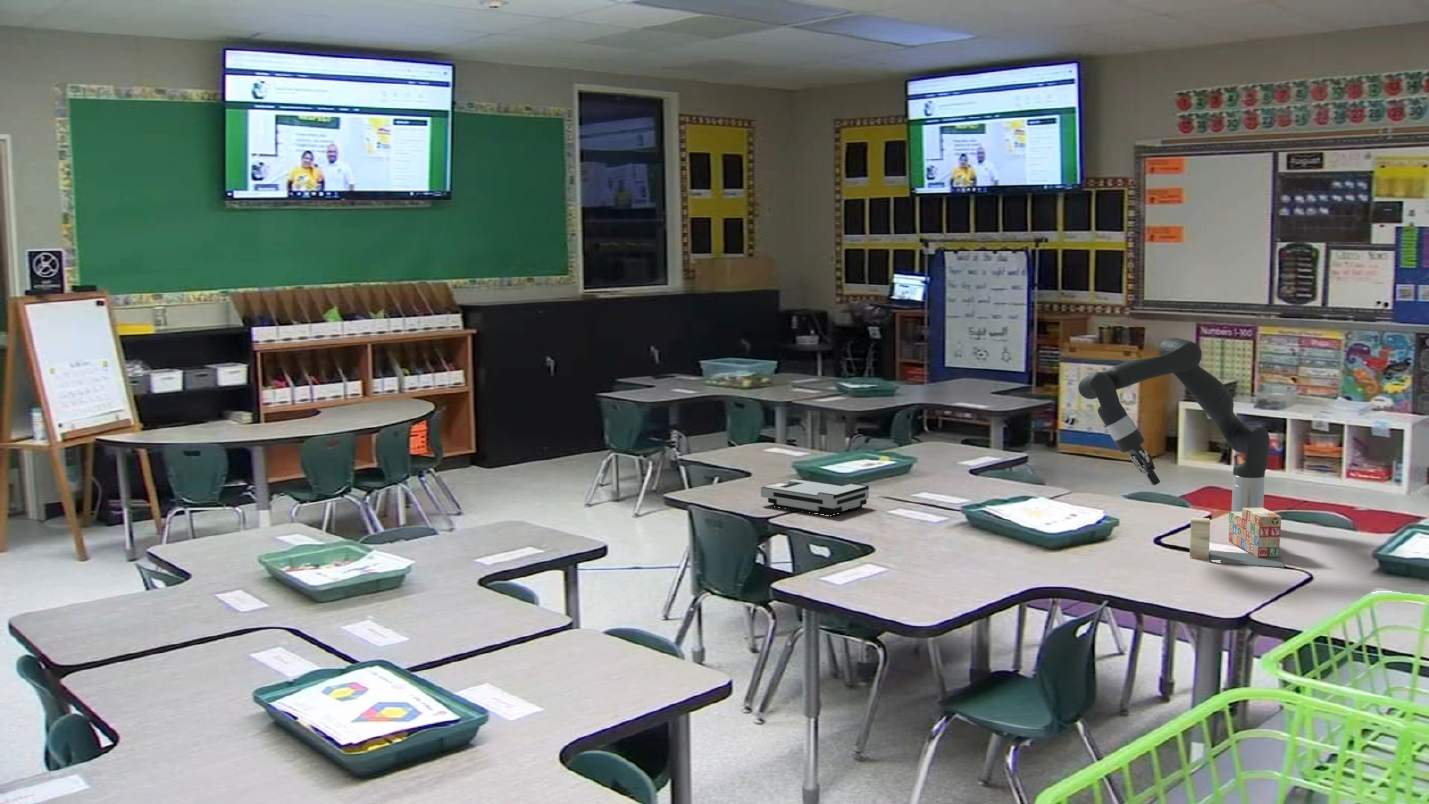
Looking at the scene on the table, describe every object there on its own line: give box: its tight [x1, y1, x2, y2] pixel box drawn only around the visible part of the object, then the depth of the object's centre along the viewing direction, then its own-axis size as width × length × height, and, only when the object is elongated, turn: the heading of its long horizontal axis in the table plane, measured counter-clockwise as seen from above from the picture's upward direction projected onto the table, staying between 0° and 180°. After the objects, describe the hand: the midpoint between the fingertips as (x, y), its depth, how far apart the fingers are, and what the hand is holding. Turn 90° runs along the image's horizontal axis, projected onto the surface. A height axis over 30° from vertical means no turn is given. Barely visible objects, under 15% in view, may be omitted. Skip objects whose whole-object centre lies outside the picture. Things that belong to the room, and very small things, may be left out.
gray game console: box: [760, 478, 870, 516], centre depth 427 cm, size 21×32×8 cm, turn 48°
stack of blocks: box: [1228, 507, 1282, 557], centre depth 358 cm, size 21×6×12 cm, turn 179°
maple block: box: [1189, 516, 1211, 560], centre depth 351 cm, size 5×5×11 cm
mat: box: [1209, 550, 1285, 569], centre depth 348 cm, size 13×19×1 cm
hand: (1156, 483), depth 354 cm, fingers closed
